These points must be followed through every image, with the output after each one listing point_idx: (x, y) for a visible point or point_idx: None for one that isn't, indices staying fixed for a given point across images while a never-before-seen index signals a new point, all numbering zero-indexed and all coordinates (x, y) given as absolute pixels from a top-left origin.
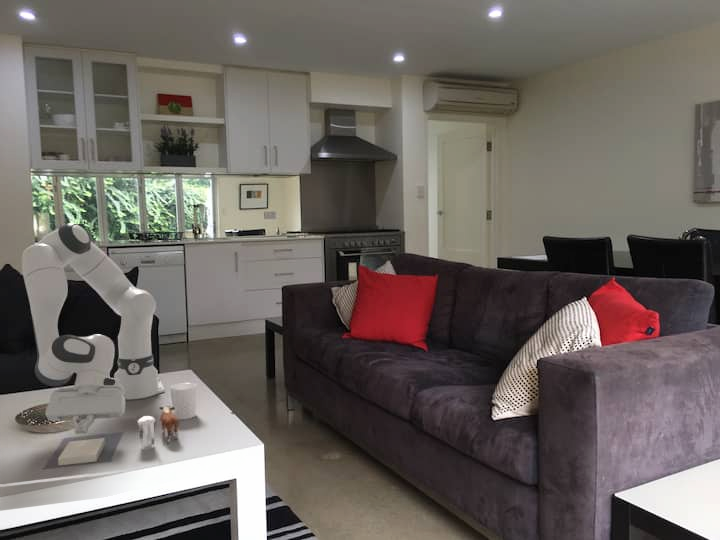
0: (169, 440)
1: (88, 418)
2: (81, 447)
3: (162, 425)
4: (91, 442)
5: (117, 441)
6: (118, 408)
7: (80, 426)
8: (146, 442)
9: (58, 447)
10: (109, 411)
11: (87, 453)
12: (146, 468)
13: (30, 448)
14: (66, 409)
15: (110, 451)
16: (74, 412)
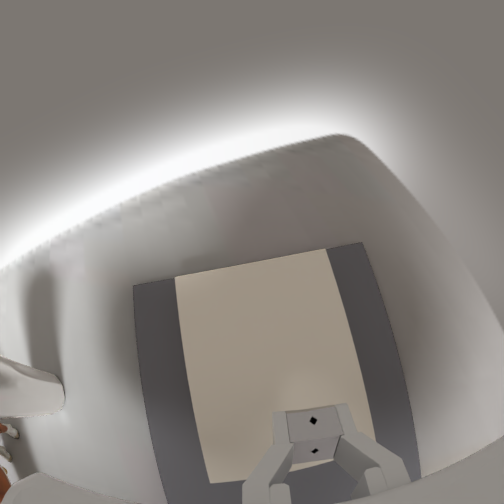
0: (6, 424)
1: (274, 486)
2: (279, 371)
3: (4, 477)
4: (255, 434)
5: (173, 497)
6: (21, 484)
7: (317, 429)
8: (26, 365)
9: (414, 445)
10: (83, 493)
11: (217, 291)
12: (46, 242)
13: (493, 433)
14: (489, 485)
15: (160, 392)
16: (417, 493)
